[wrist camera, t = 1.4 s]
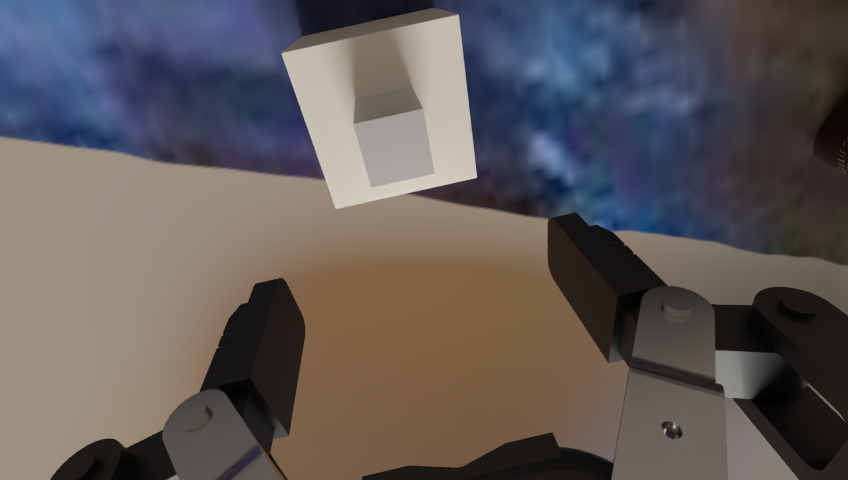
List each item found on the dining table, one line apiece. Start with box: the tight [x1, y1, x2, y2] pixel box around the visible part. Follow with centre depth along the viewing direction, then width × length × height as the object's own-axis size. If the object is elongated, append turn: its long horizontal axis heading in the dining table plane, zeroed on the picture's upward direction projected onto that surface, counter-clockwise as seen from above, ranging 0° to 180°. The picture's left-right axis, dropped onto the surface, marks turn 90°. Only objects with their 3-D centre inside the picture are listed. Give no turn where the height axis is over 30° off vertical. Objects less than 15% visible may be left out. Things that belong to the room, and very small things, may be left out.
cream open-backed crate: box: [281, 8, 477, 209], centre depth 26 cm, size 10×10×14 cm
